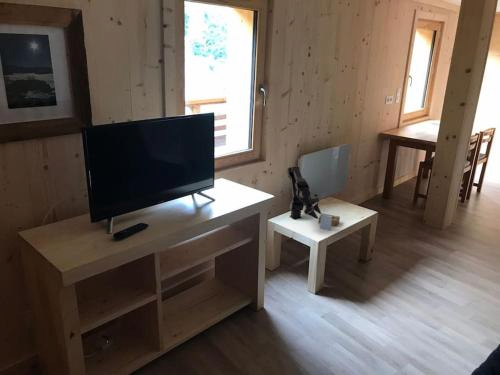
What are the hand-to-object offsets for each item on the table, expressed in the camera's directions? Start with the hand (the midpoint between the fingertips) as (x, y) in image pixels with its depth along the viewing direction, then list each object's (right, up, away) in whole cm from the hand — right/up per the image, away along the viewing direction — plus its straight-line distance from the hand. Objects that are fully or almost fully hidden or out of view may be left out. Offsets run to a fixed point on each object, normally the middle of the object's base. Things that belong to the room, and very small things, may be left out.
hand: (319, 216), depth 277 cm
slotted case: (+8, -6, +10) cm, 15 cm away
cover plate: (+4, -9, +1) cm, 10 cm away
